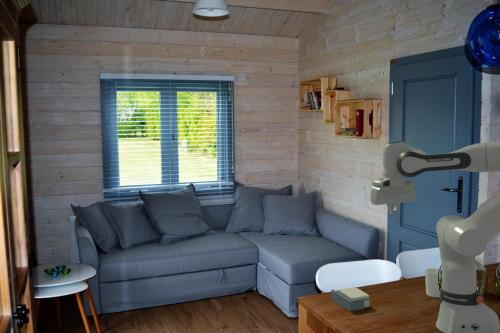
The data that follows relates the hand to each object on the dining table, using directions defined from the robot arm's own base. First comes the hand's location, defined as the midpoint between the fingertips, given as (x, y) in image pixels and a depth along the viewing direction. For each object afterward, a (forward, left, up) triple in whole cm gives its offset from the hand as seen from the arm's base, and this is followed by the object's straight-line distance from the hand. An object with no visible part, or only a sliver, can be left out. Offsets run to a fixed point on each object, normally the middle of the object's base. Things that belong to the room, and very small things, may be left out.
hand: (393, 213), depth 204 cm
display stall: (+13, +19, -34) cm, 42 cm away
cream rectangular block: (+11, +18, -34) cm, 41 cm away
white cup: (-16, -6, -34) cm, 38 cm away
